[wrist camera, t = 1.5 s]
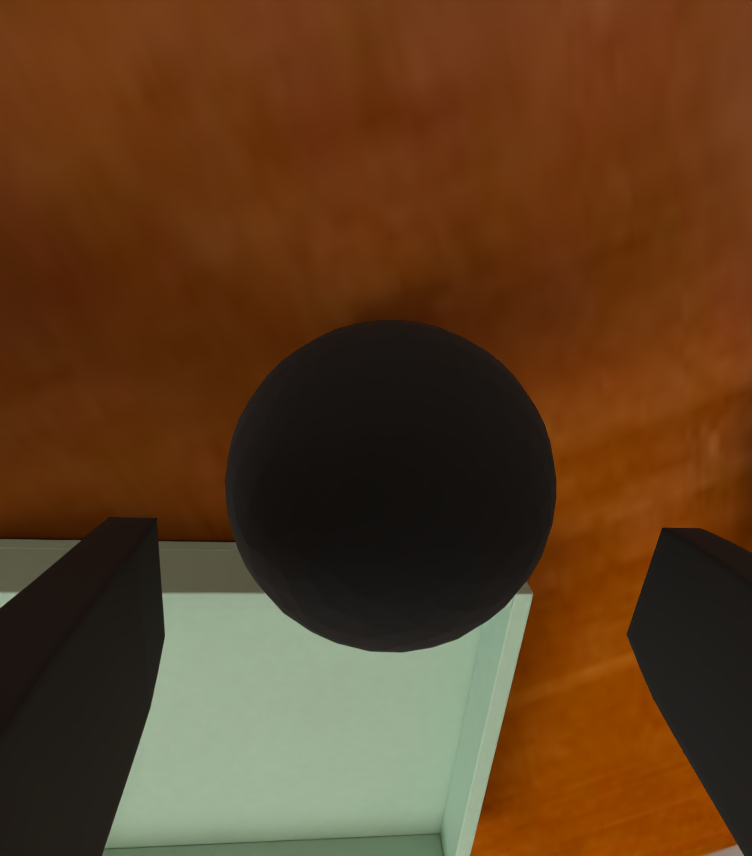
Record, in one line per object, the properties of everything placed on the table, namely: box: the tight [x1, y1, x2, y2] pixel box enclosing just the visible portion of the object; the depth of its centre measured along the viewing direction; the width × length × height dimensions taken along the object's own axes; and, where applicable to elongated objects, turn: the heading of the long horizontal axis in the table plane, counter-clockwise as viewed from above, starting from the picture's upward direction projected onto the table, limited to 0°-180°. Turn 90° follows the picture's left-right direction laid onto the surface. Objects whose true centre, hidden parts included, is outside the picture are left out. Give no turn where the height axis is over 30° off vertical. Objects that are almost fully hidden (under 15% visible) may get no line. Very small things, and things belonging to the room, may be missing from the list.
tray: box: [0, 539, 533, 856], centre depth 22 cm, size 17×15×2 cm
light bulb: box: [225, 320, 556, 653], centre depth 13 cm, size 6×6×10 cm
